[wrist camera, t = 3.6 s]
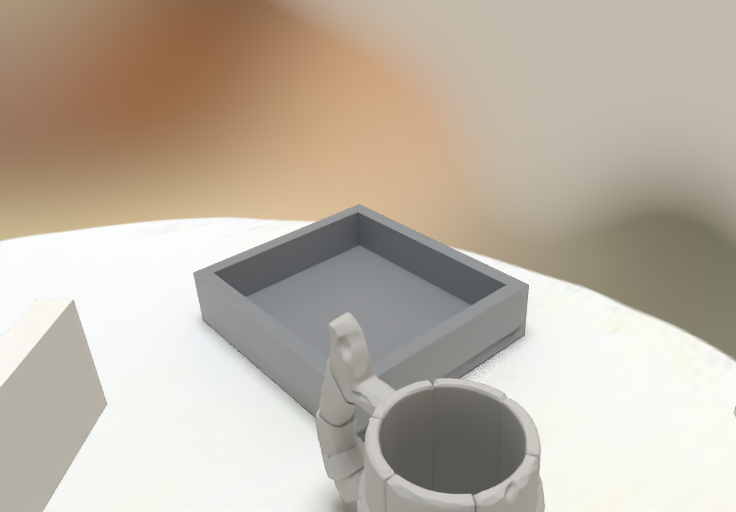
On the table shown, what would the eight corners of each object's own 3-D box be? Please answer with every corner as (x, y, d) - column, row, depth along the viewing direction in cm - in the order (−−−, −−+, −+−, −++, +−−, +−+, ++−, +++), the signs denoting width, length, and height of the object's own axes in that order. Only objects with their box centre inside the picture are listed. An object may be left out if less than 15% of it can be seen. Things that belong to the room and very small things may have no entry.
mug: (456, 738, 25) (464, 520, 19) (270, 538, 32) (234, 338, 26) (574, 602, 29) (612, 389, 23) (385, 454, 37) (377, 266, 31)
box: (203, 319, 49) (193, 272, 47) (361, 247, 57) (359, 204, 55) (352, 449, 37) (348, 394, 35) (524, 334, 45) (528, 284, 43)
